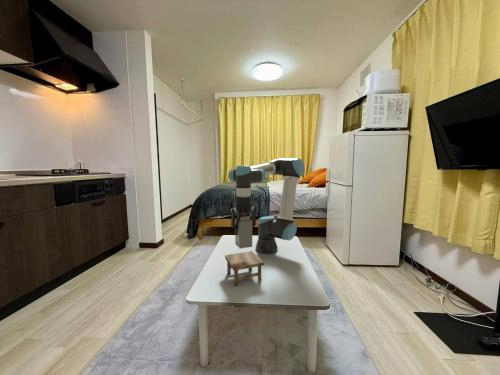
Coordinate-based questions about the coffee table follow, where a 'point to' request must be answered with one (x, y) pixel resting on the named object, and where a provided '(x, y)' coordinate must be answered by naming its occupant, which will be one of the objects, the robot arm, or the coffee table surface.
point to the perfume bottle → (244, 231)
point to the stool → (243, 264)
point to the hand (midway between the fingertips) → (243, 240)
